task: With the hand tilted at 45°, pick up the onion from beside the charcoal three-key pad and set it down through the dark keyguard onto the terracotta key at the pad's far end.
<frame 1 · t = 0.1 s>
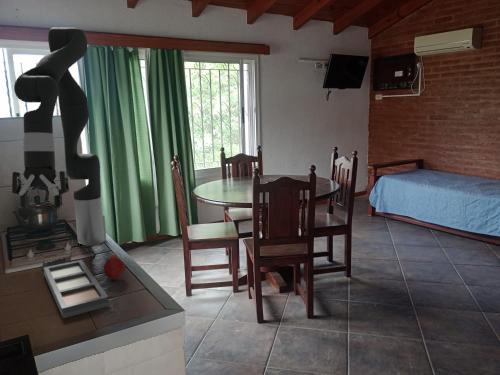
hand: (41, 208, 113), 22 cm above the counter, tool pointing down, fingers open, 8 cm apart
terracotta key: (81, 303, 106), resting on keypad
keypad: (74, 289, 114), on the counter
phone: (57, 262, 135), on the counter
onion: (114, 280, 120), on the counter
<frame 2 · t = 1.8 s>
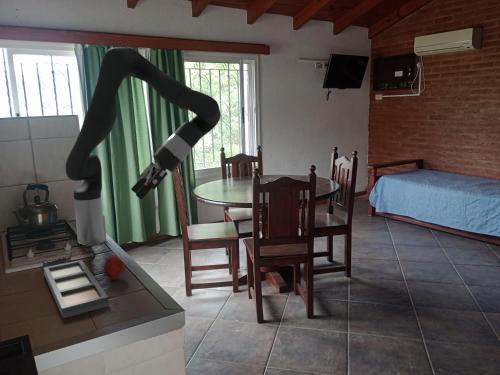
hand: (135, 194, 119), 25 cm above the counter, tool tilted 45°, fingers open, 8 cm apart
nothing on the counter moved.
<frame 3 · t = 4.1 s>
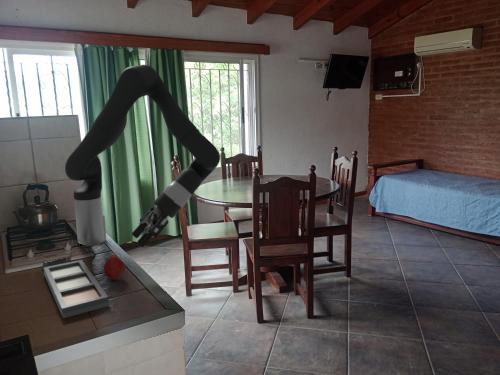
hand: (136, 240, 121), 11 cm above the counter, tool tilted 45°, fingers open, 8 cm apart
nothing on the counter moved.
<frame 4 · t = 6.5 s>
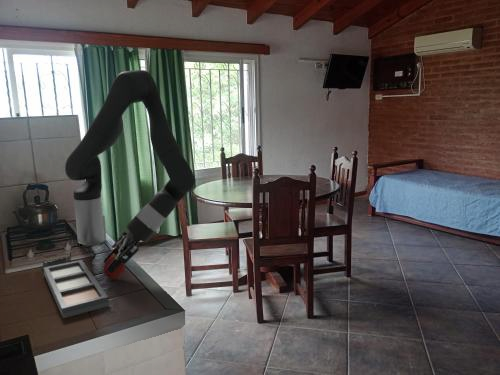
hand: (107, 267, 118), 4 cm above the counter, tool tilted 45°, fingers closed on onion, 5 cm apart
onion: (114, 280, 120), on the counter, touching gripper
everything else where it was.
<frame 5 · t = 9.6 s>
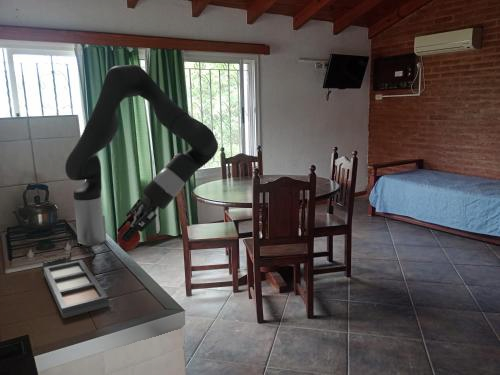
hand: (121, 236, 107), 17 cm above the counter, tool tilted 45°, fingers closed on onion, 5 cm apart
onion: (129, 251, 109), point 12 cm above the counter, touching gripper
everything else where it was.
when the fingers open (7 cm above the counter, at t = 13.0 s): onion stays where it is, resting on terracotta key.
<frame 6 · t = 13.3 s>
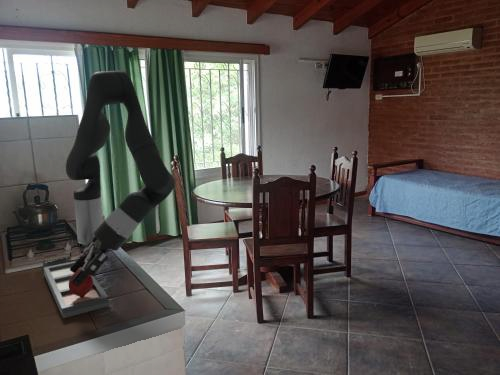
hand: (73, 277, 104), 7 cm above the counter, tool tilted 45°, fingers open, 8 cm apart
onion: (82, 297, 106), point 1 cm above the counter, touching terracotta key
everything else where it was.
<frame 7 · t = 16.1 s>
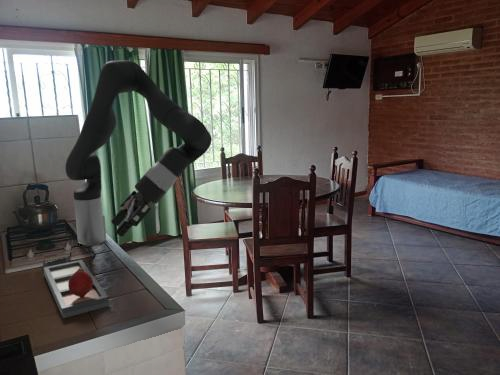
hand: (116, 229, 108), 18 cm above the counter, tool tilted 45°, fingers open, 8 cm apart
nothing on the counter moved.
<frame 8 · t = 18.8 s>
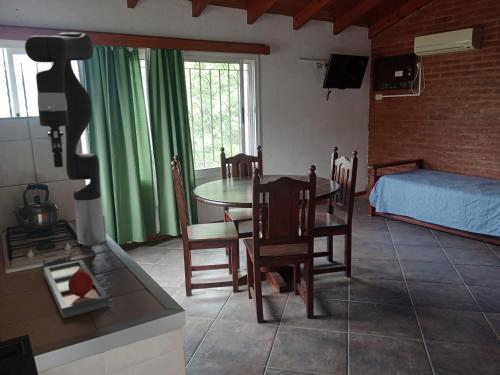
hand: (58, 165, 120), 33 cm above the counter, tool pointing down, fingers open, 8 cm apart
nothing on the counter moved.
at the end: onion 0.3 cm off-centre on the terracotta key, point 1.4 cm above the terracotta key's base; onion touching terracotta key; the gripper is holding nothing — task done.
